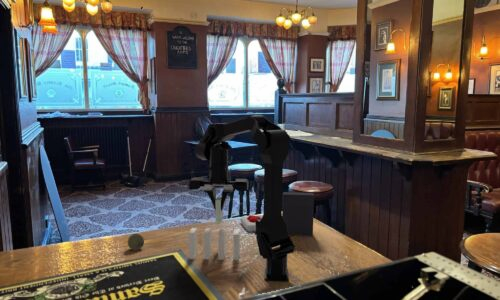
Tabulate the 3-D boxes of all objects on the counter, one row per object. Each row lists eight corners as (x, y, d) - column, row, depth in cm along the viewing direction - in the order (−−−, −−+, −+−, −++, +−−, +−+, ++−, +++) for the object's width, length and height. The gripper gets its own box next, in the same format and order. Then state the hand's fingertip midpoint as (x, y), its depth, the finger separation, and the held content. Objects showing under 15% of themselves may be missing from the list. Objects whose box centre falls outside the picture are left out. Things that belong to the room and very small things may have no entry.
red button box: (273, 219, 141) (247, 221, 138) (273, 231, 142) (247, 233, 139) (263, 210, 153) (239, 212, 150) (263, 221, 153) (239, 223, 151)
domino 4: (223, 259, 115) (223, 234, 114) (218, 259, 115) (218, 234, 114) (225, 253, 120) (225, 228, 119) (220, 253, 120) (220, 228, 119)
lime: (146, 247, 124) (145, 232, 123) (135, 252, 120) (135, 237, 119) (135, 245, 126) (134, 230, 125) (124, 250, 121) (124, 235, 121)
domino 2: (208, 259, 115) (208, 233, 114) (203, 259, 115) (203, 233, 114) (211, 252, 120) (211, 228, 119) (206, 252, 120) (206, 228, 119)
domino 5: (238, 260, 114) (238, 234, 113) (233, 260, 115) (233, 234, 114) (239, 253, 119) (240, 229, 118) (234, 253, 119) (234, 228, 118)
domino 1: (194, 259, 115) (193, 233, 114) (188, 258, 115) (188, 233, 114) (197, 252, 120) (196, 228, 119) (192, 252, 120) (191, 227, 119)
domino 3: (220, 224, 122) (220, 200, 121) (215, 224, 122) (215, 200, 121) (222, 219, 127) (222, 196, 126) (217, 219, 127) (218, 196, 126)
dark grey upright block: (312, 232, 139) (313, 192, 137) (312, 236, 135) (314, 195, 133) (282, 231, 140) (282, 191, 138) (281, 235, 136) (282, 194, 134)
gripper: (250, 159, 129) (249, 204, 131) (195, 158, 130) (195, 202, 132) (247, 165, 118) (246, 214, 120) (187, 163, 119) (188, 211, 121)
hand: (218, 210), depth 124 cm, fingers closed on domino 3, 2 cm apart
